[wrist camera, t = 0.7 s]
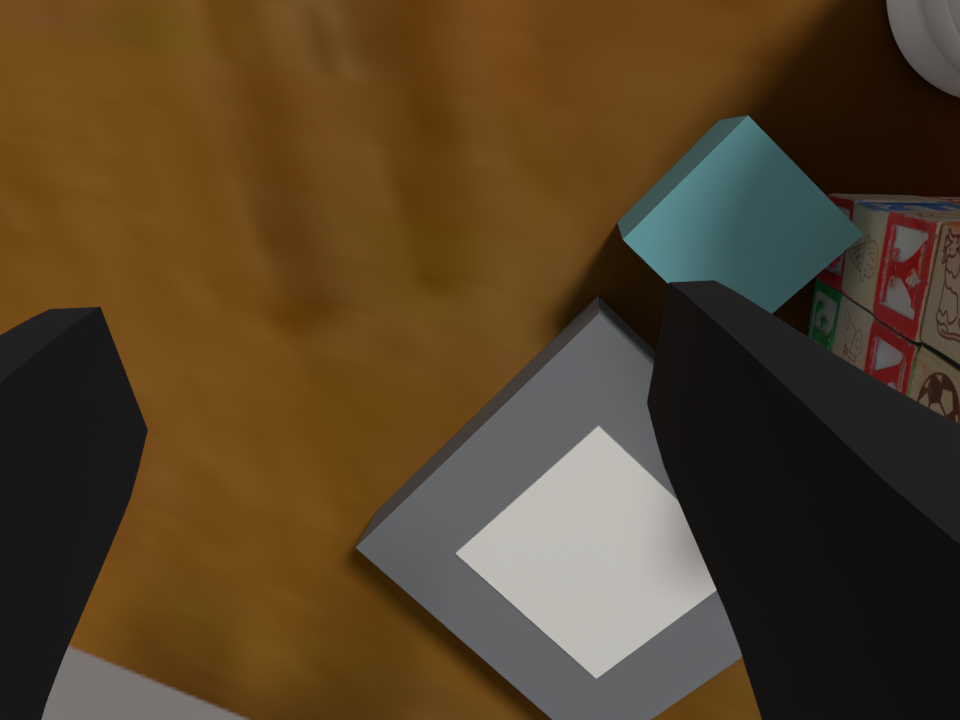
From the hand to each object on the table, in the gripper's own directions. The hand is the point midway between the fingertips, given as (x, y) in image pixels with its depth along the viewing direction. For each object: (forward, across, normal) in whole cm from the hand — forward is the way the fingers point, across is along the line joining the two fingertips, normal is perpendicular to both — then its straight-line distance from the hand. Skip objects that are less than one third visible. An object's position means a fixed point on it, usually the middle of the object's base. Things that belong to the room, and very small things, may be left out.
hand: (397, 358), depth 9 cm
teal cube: (+16, -11, +6) cm, 20 cm away
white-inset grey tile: (+12, -7, +18) cm, 23 cm away
